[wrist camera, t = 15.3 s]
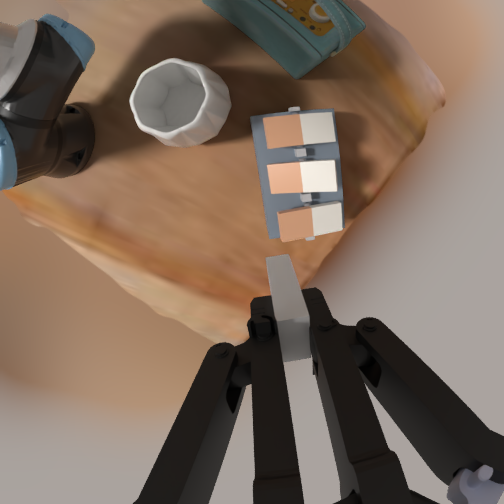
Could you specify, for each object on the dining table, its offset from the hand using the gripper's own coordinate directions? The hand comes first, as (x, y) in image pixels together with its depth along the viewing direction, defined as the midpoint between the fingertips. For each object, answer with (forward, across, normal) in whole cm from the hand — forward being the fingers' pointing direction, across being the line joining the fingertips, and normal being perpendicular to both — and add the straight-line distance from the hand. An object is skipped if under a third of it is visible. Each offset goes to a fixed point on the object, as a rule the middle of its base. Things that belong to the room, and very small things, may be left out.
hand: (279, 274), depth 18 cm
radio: (+33, +7, +31) cm, 46 cm away
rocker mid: (+25, +7, +2) cm, 26 cm away
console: (+32, +7, +2) cm, 33 cm away
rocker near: (+25, +7, +9) cm, 27 cm away
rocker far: (+25, +7, -5) cm, 26 cm away
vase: (+33, -9, +16) cm, 38 cm away
